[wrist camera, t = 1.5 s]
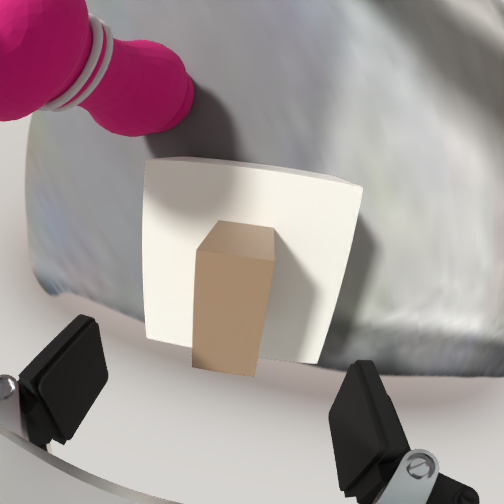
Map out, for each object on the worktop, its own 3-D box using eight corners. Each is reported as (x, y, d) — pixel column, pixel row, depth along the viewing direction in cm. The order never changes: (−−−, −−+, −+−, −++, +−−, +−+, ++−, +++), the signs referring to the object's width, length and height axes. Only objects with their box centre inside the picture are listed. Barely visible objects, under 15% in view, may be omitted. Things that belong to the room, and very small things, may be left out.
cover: (185, 156, 22) (97, 164, 10) (332, 175, 22) (402, 203, 10) (177, 288, 26) (118, 385, 14) (305, 307, 26) (326, 418, 14)
